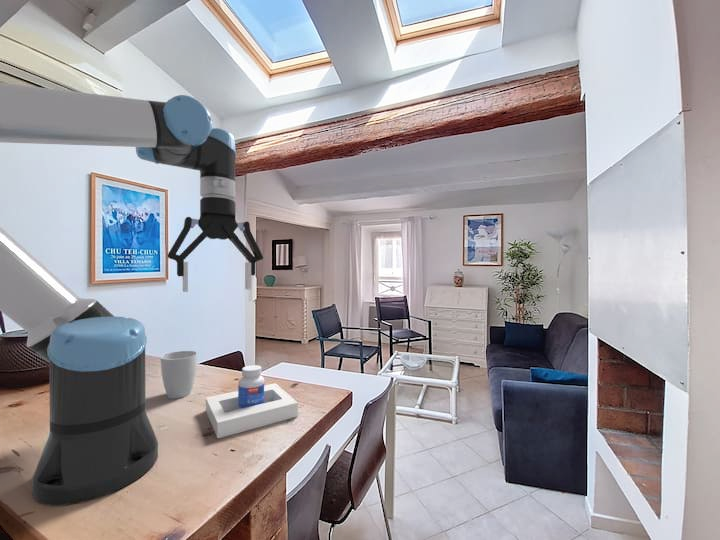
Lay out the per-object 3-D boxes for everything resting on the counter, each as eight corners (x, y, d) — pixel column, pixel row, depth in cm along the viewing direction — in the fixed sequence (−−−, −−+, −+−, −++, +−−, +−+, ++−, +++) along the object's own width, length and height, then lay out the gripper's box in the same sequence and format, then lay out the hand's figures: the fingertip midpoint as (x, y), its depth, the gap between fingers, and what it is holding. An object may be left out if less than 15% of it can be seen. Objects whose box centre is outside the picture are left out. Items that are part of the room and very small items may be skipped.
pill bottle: (247, 420, 66) (247, 373, 66) (233, 413, 70) (232, 368, 69) (269, 411, 71) (269, 367, 71) (254, 404, 74) (254, 362, 74)
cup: (203, 389, 84) (203, 351, 84) (184, 401, 76) (184, 359, 76) (175, 387, 85) (175, 350, 85) (152, 400, 77) (152, 358, 77)
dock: (217, 438, 60) (217, 422, 60) (201, 401, 76) (201, 389, 76) (297, 416, 69) (297, 402, 69) (267, 387, 85) (267, 376, 85)
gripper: (155, 188, 64) (155, 293, 64) (275, 202, 78) (275, 289, 78) (154, 195, 71) (154, 291, 71) (266, 207, 85) (266, 287, 85)
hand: (218, 290), depth 75 cm, fingers open, 13 cm apart
